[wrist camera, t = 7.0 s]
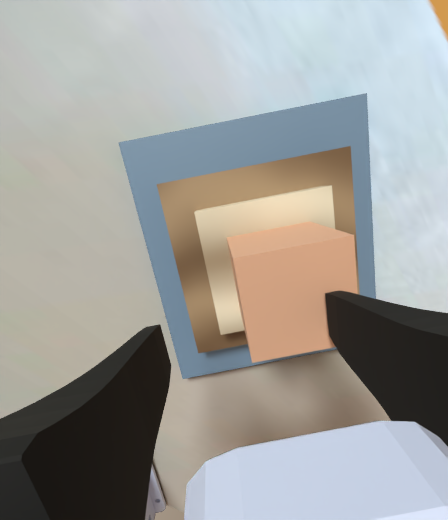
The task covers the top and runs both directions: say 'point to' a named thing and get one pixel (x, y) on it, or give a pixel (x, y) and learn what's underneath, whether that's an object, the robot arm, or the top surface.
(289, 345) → the terracotta block
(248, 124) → the plinth board
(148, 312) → the top surface
